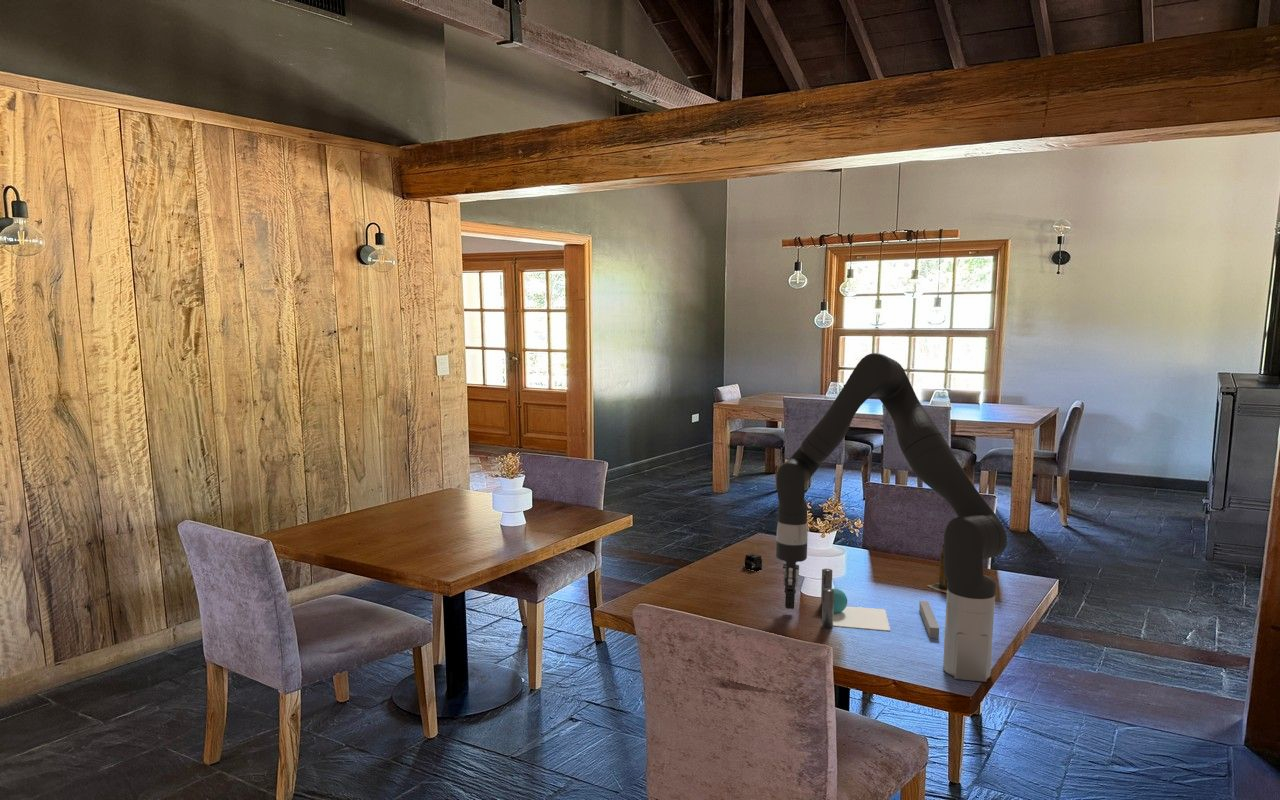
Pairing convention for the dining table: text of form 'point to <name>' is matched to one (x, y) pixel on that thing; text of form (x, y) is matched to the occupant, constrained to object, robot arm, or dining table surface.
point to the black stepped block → (753, 562)
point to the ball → (839, 601)
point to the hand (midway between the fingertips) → (789, 607)
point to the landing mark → (862, 618)
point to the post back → (826, 581)
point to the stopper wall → (929, 619)
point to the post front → (827, 608)
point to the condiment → (941, 576)
